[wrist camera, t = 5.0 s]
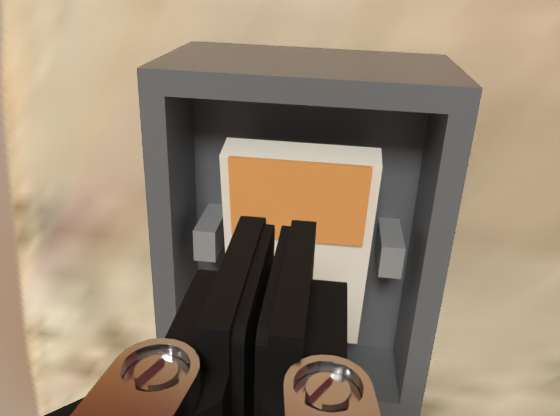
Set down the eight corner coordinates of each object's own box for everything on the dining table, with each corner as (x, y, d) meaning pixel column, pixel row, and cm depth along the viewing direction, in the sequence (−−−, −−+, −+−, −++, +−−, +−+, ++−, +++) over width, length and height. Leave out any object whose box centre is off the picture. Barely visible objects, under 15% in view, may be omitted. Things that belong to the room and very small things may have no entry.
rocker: (356, 320, 22) (357, 347, 21) (235, 308, 22) (229, 333, 21) (381, 148, 17) (382, 170, 16) (226, 137, 18) (218, 158, 16)
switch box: (403, 323, 26) (418, 422, 20) (199, 303, 27) (160, 393, 21) (445, 55, 21) (482, 87, 15) (191, 41, 22) (136, 67, 16)
